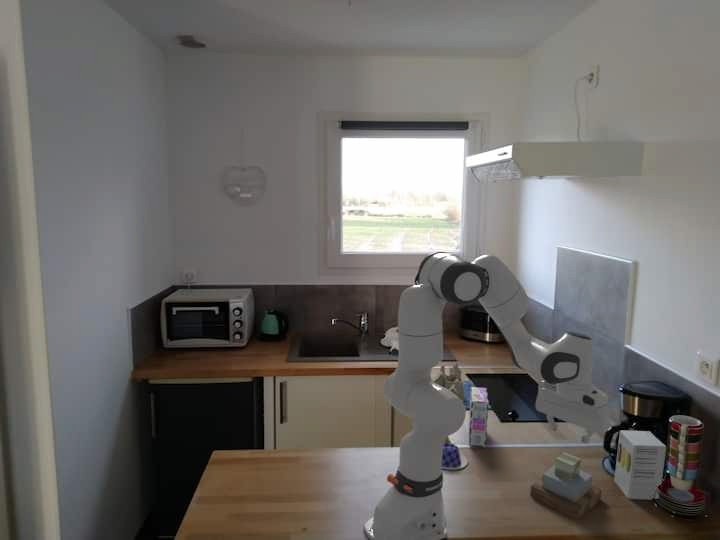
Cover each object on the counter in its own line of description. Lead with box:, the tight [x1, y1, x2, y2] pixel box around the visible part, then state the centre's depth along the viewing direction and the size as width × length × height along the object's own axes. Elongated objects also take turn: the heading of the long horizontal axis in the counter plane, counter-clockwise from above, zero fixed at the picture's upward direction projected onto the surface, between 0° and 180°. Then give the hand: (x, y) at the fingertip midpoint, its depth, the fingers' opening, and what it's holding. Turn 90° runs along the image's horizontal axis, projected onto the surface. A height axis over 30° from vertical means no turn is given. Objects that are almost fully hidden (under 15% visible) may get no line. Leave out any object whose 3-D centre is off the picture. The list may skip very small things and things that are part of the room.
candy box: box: [468, 386, 489, 448], centre depth 183 cm, size 14×6×16 cm, turn 168°
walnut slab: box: [530, 477, 603, 520], centre depth 149 cm, size 14×14×4 cm
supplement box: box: [613, 429, 667, 501], centre depth 152 cm, size 10×9×17 cm
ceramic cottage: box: [431, 362, 467, 403], centre depth 217 cm, size 16×16×15 cm
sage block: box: [554, 452, 582, 482], centre depth 147 cm, size 5×5×5 cm
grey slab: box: [541, 464, 593, 502], centre depth 148 cm, size 10×10×4 cm
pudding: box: [442, 442, 468, 470], centre depth 168 cm, size 12×12×5 cm
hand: (568, 436), depth 146 cm, fingers open, 8 cm apart
